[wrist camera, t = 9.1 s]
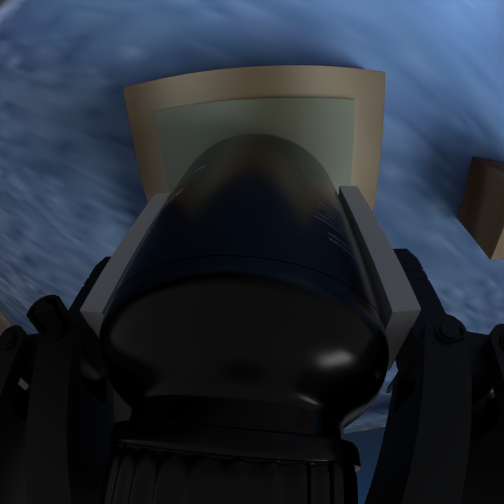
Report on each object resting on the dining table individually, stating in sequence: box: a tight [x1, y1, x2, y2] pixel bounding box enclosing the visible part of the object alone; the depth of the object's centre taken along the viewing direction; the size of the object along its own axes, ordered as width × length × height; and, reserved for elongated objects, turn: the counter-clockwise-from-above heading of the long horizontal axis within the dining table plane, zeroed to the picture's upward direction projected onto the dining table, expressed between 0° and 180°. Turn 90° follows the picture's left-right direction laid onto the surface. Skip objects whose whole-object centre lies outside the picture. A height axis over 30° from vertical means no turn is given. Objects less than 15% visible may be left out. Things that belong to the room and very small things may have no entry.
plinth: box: [123, 65, 385, 212], centre depth 15 cm, size 12×12×3 cm
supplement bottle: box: [99, 134, 389, 504], centre depth 8 cm, size 7×7×12 cm
